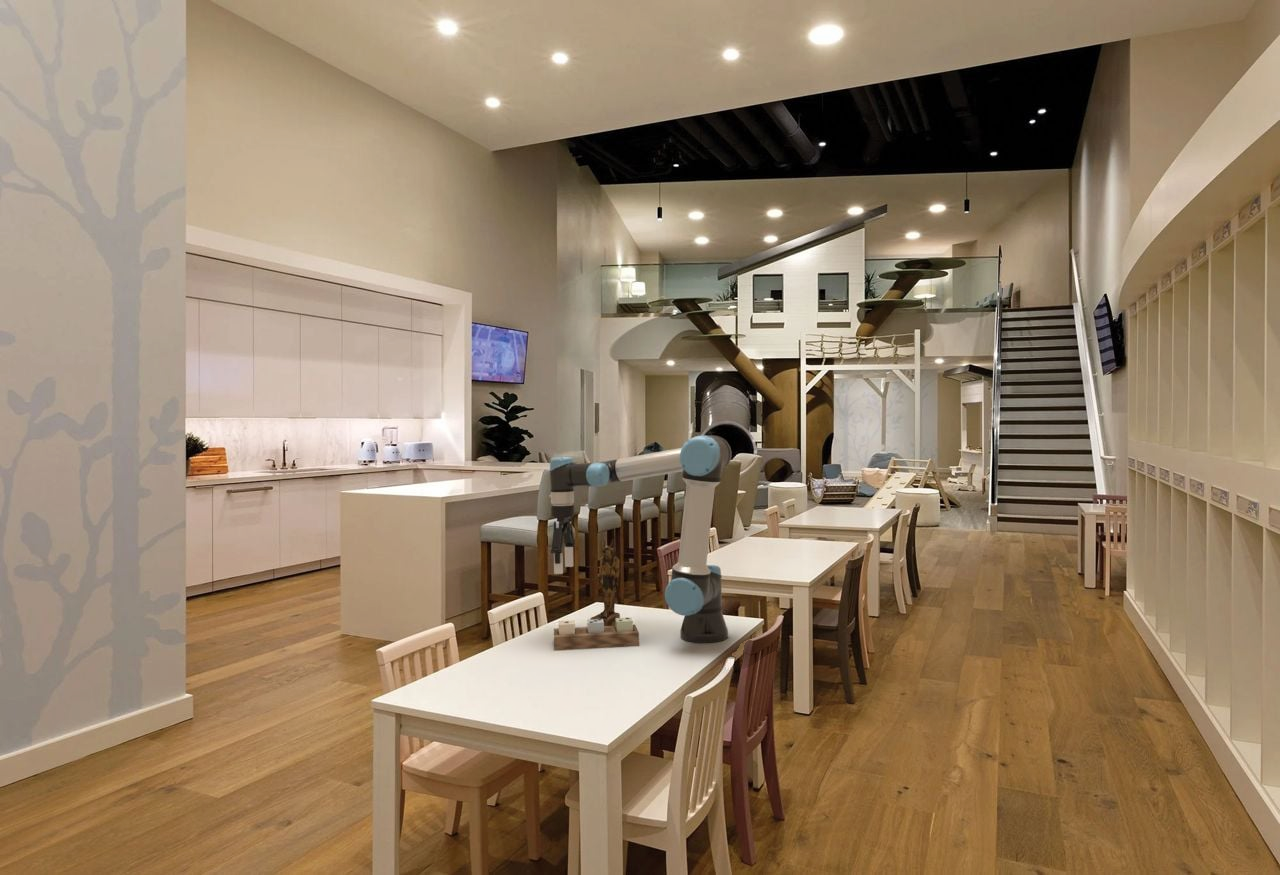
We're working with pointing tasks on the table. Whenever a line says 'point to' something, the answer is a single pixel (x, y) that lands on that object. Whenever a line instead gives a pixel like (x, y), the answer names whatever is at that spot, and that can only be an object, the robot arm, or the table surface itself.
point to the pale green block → (624, 624)
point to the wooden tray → (595, 638)
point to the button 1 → (566, 627)
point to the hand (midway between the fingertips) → (564, 570)
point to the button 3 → (595, 626)
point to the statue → (608, 583)
